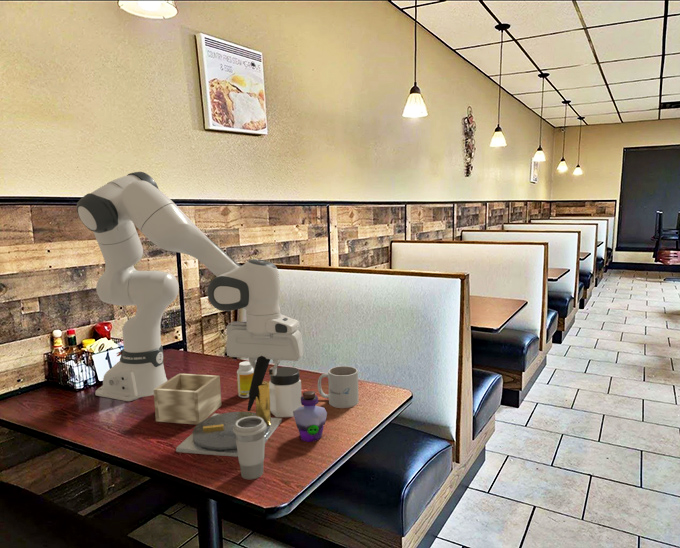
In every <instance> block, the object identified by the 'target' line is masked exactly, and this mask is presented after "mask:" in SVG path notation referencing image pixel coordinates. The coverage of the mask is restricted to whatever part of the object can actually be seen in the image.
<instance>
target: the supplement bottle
mask: <svg viewBox="0 0 680 548" xmlns="http://www.w3.org/2000/svg"><path fill="white" fill-rule="evenodd" d="M238 366H239V367H238V369H237V370H236V378H237V379H236V380H237V382H236V383H237V394H238V395H237V396H238V397H240V398H241V399H242V398H243V399H249V391H250V386H251V382H252V378H253V374H254V369H253V367H252V366H251V364H250V362H249V360H247V361H242V362H241V361H240V362H239V364H238Z"/></svg>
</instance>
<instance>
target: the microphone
mask: <svg viewBox="0 0 680 548" xmlns="http://www.w3.org/2000/svg"><path fill="white" fill-rule="evenodd" d="M270 361H271V359H266V357H263V356H260V357H258V358H257V360H256V365H255V370H254V374H253V378H252V382H251V386H250V391H249V398H248V403H247V409H246V412H251V409H252V408H253V405H254V403H255V401H256V397H257V396H258V394H259V387H258V386H260V385H261V384H262V382H263V381H264V379H265V376H266V373H267V369H268V368H269V365H270Z"/></svg>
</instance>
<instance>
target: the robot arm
mask: <svg viewBox="0 0 680 548" xmlns="http://www.w3.org/2000/svg"><path fill="white" fill-rule="evenodd" d="M76 213H77V216H78V217H79V220H80V221H81V223H82V224H83V225H84V227H86V228H87V229H88V230H89V231H91V232H92V233H93V235H94V237H95V239H96V242H97V244H98V248H99V250H100V252H101V255H102V257H103V258H102V259H103V260H104V267H105V269H104V272H103V274H101V276H100V277H99V278H98V279H97V282H96V287H95V289H96V295H97V297H98V298H99V300H100V301H101V302H102V303H106V304H109V305H114V306H136V312H135V315H134V316H132V317H130V318H129V319H127V320H126V322H124V324H123V326H122V329H121V331H122V340H123V349H122V350H120V351H118V352H116V353H115V354H116V357H120V359H119V361H118V362H117V363H115V364H114V365H113V366H112V367H111V368H110V369H108V370H107V371H106V372H105V373H104V375H103V379H102V385H101V386H100V387H98V388H97V389H96V390H95V392H94V393H95V396H98V397H103V398H108V399H112V400H113V399H114V400H119V401H124V402H131V401H136V400H139V398H145V397H150V396H154V389H155V388H157V387H158V386H160V385H162V384H163V383H165V382H166V381H168V378H167V375H166V371H165V367H164V349H163V348H164V347H163V346H164V345H162V341H161V338H162V337H161V335H162V334H161V324H162V323H161V322H162V317H163V315H164V313H165V311H166V309H167V308H168V306H170V305H171V304H172V303H173V302H174V301H175V300H176V299H177V297H178V295H179V291H180V288H179V287H180V285H179V282H178V280H177V277H176V275H174V274H173V273H170V272H165V271H162V270H139V269H138V270H137V269H136V268H135V265H137V264H138V263H139V262H140V261H141V260H142V258H143V255H144V248H143V244H142V242H141V239H140V236H139V234H138V230H139V231H140V233H142V234H143V235H144V236H145V237H146V238H147V239H148V240H149V241H150V242H151V243H152V244H153V245H155V246H157V247H158V248H160V249H161V250H164V251H166V252H167V251H169V252H174V253H179V254H184V255H188V256H190V257H193V258H194V259H195V260H198V261H199V262H200V263H201V264H203V266H205V267H206V269H208V270H209V271H210V272H211V273H213V275H214V276H216V277H214V278H212V279H211V281H210V282H209V284H208V286H207V288H206V289H207V291H206V293H207V298H208V301H209V304H210V305H212V307H214V309H216V310H219V311H221V312H231V311H232V312H233V311H235V310H236V311H237V310H240V309H244V310H245V320H246V321H236V320H235V321H233V320H232V321H231V322H229V323H228V324H227V325H226V336H227V338H226V347H225V348H226V349H225V350H226V351H225V352H226V354H227V356H228V357H230V358H245V359H248V361H249V362H250V364H251V366H252V367H253V369H254V370H255V365H256V361H257V358H258V357H260V356H263V357H266V359H270V360H272V364H274V365H273V366H271V367H270V368H269V369H268V372H269V373H268V375H269V376H270V375H271V376H275V375H276V374H277V368H279V365H280V363H281V361H288V362H290V361H293V362H297V361H299V360H300V359H302V357H303V355H304V342H303V338H302V337H303V336H302V333H301V331H300V330H298V328H299V326H300V321H299V320H297V319H295V318H292V317H289V316H287V315H286V314H285V315H284V314H282V313H281V312H282V311H281V306H280V298H281V285H280V282H281V281H280V276H279V270H278V267H277V266H276V264H275V263H274V262H272V261H269V260H266V259H265V260H263V259H249V260H247V261H246V262H245V263H244V264H242V265H241V264H239V263H237V262H236V260H233V258H231V256H229V255H228V254H227V253H226V252H225V251H224V250H222V248H220V247H219V246H218V244H216V243H215V242H214V241H213V240H212V239H211V238H209V237H208V236H207V235H206V234H205V233H204V232H203V231H202V230H201V229H200V228H199V227H198V226H197V225H196V224H195V223H194V222H193V220H191V219H190V218H189V217H188V216H187V215H186V214H185V213H184V211H182V210H181V208H180V207H179V206H177V204H176V203H175V202H174V201H173V200H172V199H171V198H169V196H167V195H166V194H165V193H164V192H163V191H161V190H160V189H159V186H158V184H157V183H156V181H155V180H154V179H153V177H152V176H151V175H149V174H148V173H146V172H144V171H135V172H134V171H133V172H131V173H127V174H126V175H125V176H122V177H118V178H116V179H113V180H111V181H108V182H107V183H105V184H104V185H102V186H100V187H99V188H97V189H95V190H94V191H92V192H91V193H87V194H85V195H83V196H82V197H81V198H80V199H78V201H77V203H76ZM136 228H137V229H138V230H137V229H136Z"/></svg>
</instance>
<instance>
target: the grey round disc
mask: <svg viewBox="0 0 680 548" xmlns="http://www.w3.org/2000/svg"><path fill="white" fill-rule="evenodd" d="M258 387H259V394H258V396H257V397H256V399H255V412H252V411H230V412H224V413H218V414H219V415H215V416H212V415H211V416H212V417H211V416H209V417H208V418H207V419H205V420H203V421H202V422H200V423H199V424H198V425H195V426H194V428H193V430H192V433H193V440H194V442H195V443H196V444H198V445H199V446H201V447H204V448H208V449H214V450H229V449H237V445H236V434H235V433H234V432H233V428H234V426H235V423H236V421H238V420H239V419H241V418H244V417H249V416H257V417H261V418H262V419H263V420H264V422H265V423H266V425H267V427H266V429H265V430H264V433H265V436H266V435H267V434H268V433H269V431H270V425H271V418H272V417H271V416H272V415H271V414H272V413H271V411H270V388H269V381H266V380H263V382H262V384H261V385H260V386H258Z"/></svg>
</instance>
